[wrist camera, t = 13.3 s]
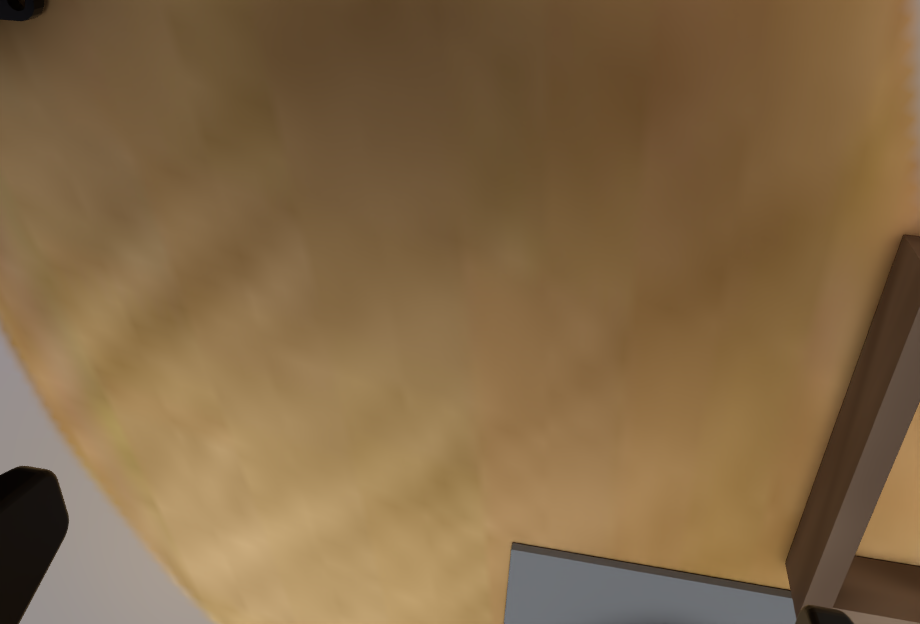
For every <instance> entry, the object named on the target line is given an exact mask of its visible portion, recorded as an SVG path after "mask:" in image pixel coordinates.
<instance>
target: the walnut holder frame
mask: <svg viewBox="0 0 920 624" xmlns="http://www.w3.org/2000/svg"><path fill="white" fill-rule="evenodd" d="M919 402H920V237H919V236H910V235H903V238H902V241H901V243H900V246H899V249H898V252H897V255H896V257H895V260H894V263H893V266H892V268H891V271H890V274H889V277H888V280H887V282H886V285H885V288H884V291H883V293H882V296H881V299H880V302H879V305H878V307H877V310H876V313H875V316H874V318H873V321H872V324H871V327H870V330H869V332H868V335H867V338H866V341H865V343H864V346H863V349H862V352H861V355H860V357H859V360H858V363H857V366H856V368H855V371H854V374H853V377H852V380H851V382H850V385H849V388H848V391H847V393H846V396H845V399H844V402H843V405H842V407H841V410H840V413H839V416H838V418H837V421H836V424H835V427H834V430H833V432H832V435H831V438H830V441H829V443H828V446H827V449H826V452H825V455H824V457H823V460H822V463H821V466H820V468H819V471H818V474H817V477H816V480H815V482H814V485H813V488H812V491H811V493H810V496H809V499H808V502H807V505H806V507H805V510H804V513H803V516H802V518H801V521H800V524H799V527H798V530H797V532H796V535H795V538H794V541H793V543H792V546H791V549H790V552H789V555H788V557H787V560H786V563H785V564H786V569H787V574H788V579H789V584H790V589H791V595H792V600H793V605H794V610H795V615H796V620H797V617H798V615H799V612H800V610H801V609H802V608H803V607H804V606H806V605H815V606H820V607H826V608H832V609H837V610H840V611H842V612H844V613H845V614H846V615H848V616H849V617H850V619H851V620H852V621H853V623H854V624H920V567H917V566H911V565H905V564H899V563H893V562H887V561H881V560H875V559H869V558H863V557H857V556H855V553H856V551H857V549H858V546H859V544H860V542H861V539H862V537H863V534H864V532H865V530H866V527H867V525H868V523H869V520H870V518H871V516H872V513H873V511H874V508H875V506H876V504H877V501H878V499H879V497H880V494H881V492H882V490H883V487H884V485H885V482H886V480H887V478H888V475H889V473H890V471H891V468H892V466H893V463H894V461H895V459H896V456H897V454H898V452H899V449H900V447H901V445H902V442H903V440H904V437H905V435H906V433H907V430H908V428H909V426H910V423H911V421H912V419H913V416H914V414H915V411H916V409H917V407H918V404H919Z"/></svg>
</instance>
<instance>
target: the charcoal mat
mask: <svg viewBox="0 0 920 624" xmlns="http://www.w3.org/2000/svg"><path fill="white" fill-rule="evenodd" d="M795 622H796V615H795V610H794V605H793V600H792V595H791V591H787V590H781V589H776V588H770V587H764V586H758V585H753V584H747V583H741V582H735V581H730V580H724V579H718V578H712V577H707V576H701V575H695V574H689V573H683V572H678V571H672V570H666V569H660V568H655V567H649V566H643V565H637V564H632V563H626V562H620V561H614V560H608V559H603V558H597V557H591V556H585V555H580V554H574V553H568V552H562V551H557V550H551V549H545V548H539V547H534V546H528V545H522V544H516V543H513V544H512V549H511V559H510V569H509V579H508V589H507V599H506V609H505V619H504V624H795Z"/></svg>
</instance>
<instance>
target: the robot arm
mask: <svg viewBox="0 0 920 624" xmlns="http://www.w3.org/2000/svg"><path fill="white" fill-rule="evenodd" d="M43 9H44V0H25V7H24V6H23V5H22V4H21V3H20V2H19V0H0V19H2V20H14V21H25V20H29V19H32V18H36V17H38V16H39V15H40V14H41V13H42V11H43ZM68 524H69V516H68V512H67V509H66V505H65V502H64V499H63V495H62V492H61V489H60V486H59V483H58V479H57V477H56V475H55V474H54V473H53V472H52V471H50V470H47V469H41V468H35V467H29V466H19V467H16V468H14V469H11V470H9V471H8V472H5V473H4V474H1V475H0V624H19V623H20V621H21V619H22V617H23V615H24V613H25V611H26V609H27V608H28V606H29V604H30V602H31V600H32V598H33V596H34V594H35V592H36V591H37V589H38V587H39V585H40V583H41V581H42V579H43V577H44V575H45V573H46V572H47V570H48V568H49V566H50V564H51V562H52V560H53V558H54V557H55V555H56V553H57V551H58V549H59V547H60V545H61V543H62V541H63V540H64V537H65V535H66V533H67V529H68ZM795 624H854V623H853V621H852V620H851V619H850V617H849V616H848V615H846V614H845V613H844V612H842V611H840V610H837V609H832V608H826V607H820V606H815V605H806V606H804V607H803V608H802V609H801V610H800V612H799V615H798V617H797V620H796V622H795Z"/></svg>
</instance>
